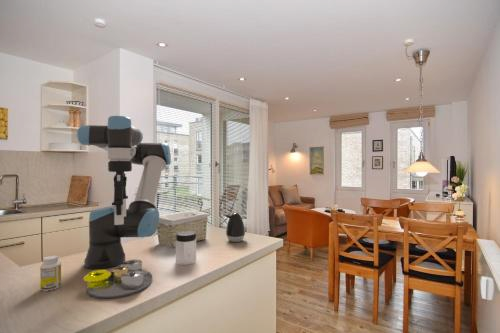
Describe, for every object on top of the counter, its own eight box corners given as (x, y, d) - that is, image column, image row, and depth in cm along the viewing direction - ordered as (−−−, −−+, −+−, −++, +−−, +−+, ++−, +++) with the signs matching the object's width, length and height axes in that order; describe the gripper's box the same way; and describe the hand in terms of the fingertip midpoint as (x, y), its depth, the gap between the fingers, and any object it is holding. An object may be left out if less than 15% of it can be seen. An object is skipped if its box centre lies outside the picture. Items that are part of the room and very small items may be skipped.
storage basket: (171, 249, 132) (171, 219, 132) (153, 243, 142) (153, 215, 142) (209, 239, 150) (209, 212, 150) (190, 234, 160) (190, 209, 160)
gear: (103, 276, 95) (78, 285, 89) (103, 266, 95) (78, 273, 89) (116, 282, 91) (91, 291, 84) (116, 271, 91) (91, 279, 84)
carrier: (72, 292, 87) (72, 273, 87) (122, 270, 106) (122, 253, 106) (120, 303, 80) (120, 282, 80) (164, 277, 99) (164, 260, 99)
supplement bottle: (54, 283, 94) (53, 253, 94) (65, 285, 92) (64, 255, 92) (36, 290, 89) (36, 259, 89) (47, 293, 87) (47, 261, 87)
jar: (179, 266, 109) (179, 236, 109) (172, 260, 116) (172, 232, 116) (199, 262, 114) (199, 233, 114) (192, 256, 121) (192, 229, 121)
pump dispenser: (223, 239, 150) (223, 211, 150) (242, 237, 153) (242, 210, 153) (228, 244, 140) (227, 214, 140) (247, 242, 143) (247, 213, 143)
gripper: (130, 160, 86) (130, 227, 86) (133, 160, 109) (133, 213, 109) (103, 160, 83) (104, 229, 83) (112, 160, 106) (112, 214, 107)
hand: (120, 220), depth 96 cm, fingers open, 13 cm apart
